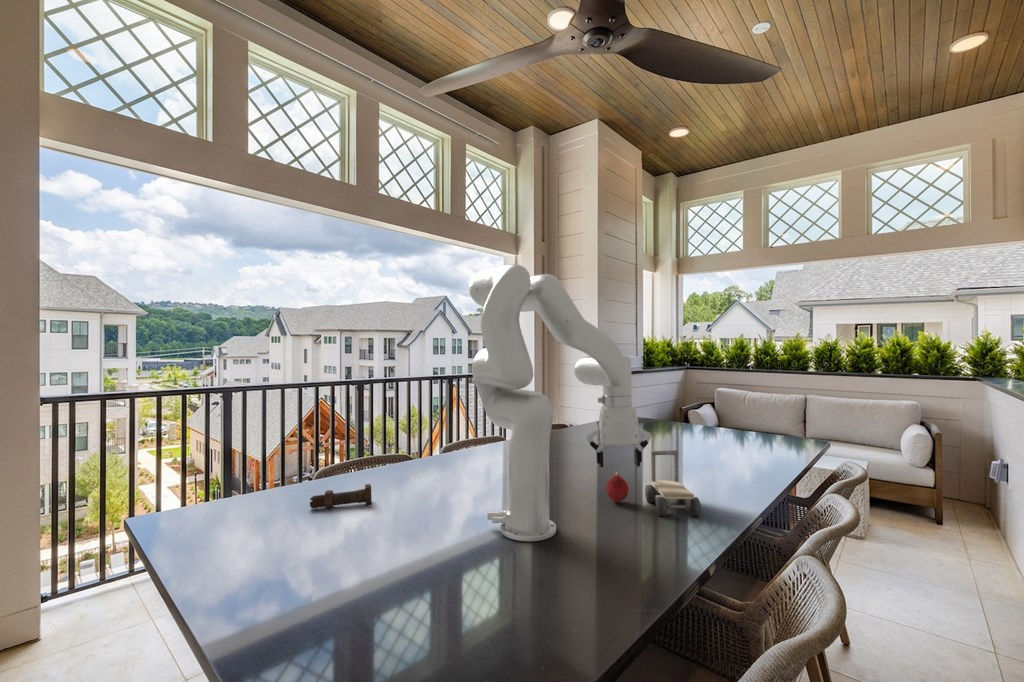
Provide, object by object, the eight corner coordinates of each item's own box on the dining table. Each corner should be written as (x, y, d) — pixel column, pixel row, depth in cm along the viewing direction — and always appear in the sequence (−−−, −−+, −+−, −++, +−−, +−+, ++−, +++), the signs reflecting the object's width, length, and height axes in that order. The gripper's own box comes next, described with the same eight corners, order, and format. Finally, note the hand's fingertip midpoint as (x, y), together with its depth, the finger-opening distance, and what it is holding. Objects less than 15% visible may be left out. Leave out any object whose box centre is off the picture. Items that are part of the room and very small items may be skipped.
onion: (630, 506, 122) (630, 475, 122) (608, 506, 123) (608, 475, 123) (625, 499, 128) (625, 470, 128) (604, 499, 128) (604, 469, 128)
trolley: (700, 518, 114) (700, 462, 114) (660, 518, 114) (660, 462, 114) (680, 499, 128) (680, 449, 128) (645, 499, 128) (644, 449, 129)
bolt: (311, 516, 122) (371, 508, 126) (308, 512, 118) (371, 504, 122) (311, 493, 124) (371, 486, 129) (309, 488, 120) (370, 481, 125)
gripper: (587, 404, 122) (588, 470, 122) (654, 402, 122) (655, 468, 122) (583, 400, 130) (584, 462, 130) (646, 398, 129) (647, 461, 130)
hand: (619, 465), depth 126 cm, fingers open, 9 cm apart
